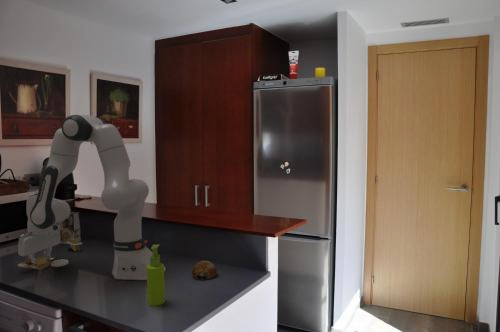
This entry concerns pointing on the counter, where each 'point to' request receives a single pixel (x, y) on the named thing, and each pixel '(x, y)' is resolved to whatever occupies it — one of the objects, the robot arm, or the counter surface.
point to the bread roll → (204, 270)
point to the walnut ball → (28, 261)
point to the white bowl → (59, 263)
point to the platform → (74, 244)
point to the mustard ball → (41, 261)
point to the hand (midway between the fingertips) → (41, 259)
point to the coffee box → (70, 228)
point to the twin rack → (35, 265)
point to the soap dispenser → (155, 279)
